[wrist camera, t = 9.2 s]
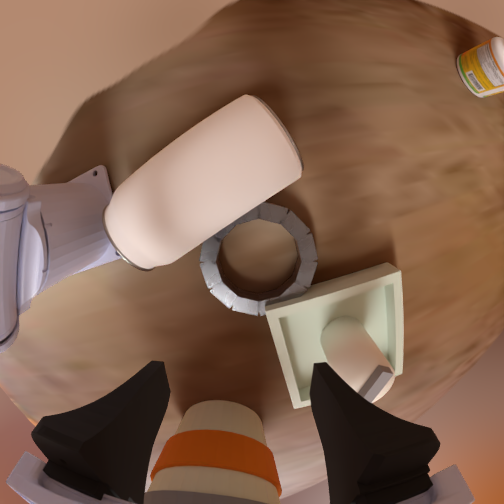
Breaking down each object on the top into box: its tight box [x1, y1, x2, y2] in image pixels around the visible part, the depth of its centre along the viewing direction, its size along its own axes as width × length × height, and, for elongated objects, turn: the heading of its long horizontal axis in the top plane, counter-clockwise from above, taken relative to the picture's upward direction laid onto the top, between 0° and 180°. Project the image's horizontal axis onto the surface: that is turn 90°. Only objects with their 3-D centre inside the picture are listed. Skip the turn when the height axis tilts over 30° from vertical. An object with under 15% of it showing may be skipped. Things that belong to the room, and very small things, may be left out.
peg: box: [320, 316, 395, 403], centre depth 18 cm, size 4×4×8 cm
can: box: [102, 95, 304, 271], centre depth 17 cm, size 6×6×12 cm
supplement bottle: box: [457, 37, 504, 97], centre depth 12 cm, size 5×5×10 cm
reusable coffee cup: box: [144, 400, 282, 504], centre depth 18 cm, size 13×12×15 cm
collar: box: [199, 201, 318, 316], centre depth 20 cm, size 8×8×2 cm
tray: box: [265, 262, 404, 409], centre depth 22 cm, size 11×11×2 cm
